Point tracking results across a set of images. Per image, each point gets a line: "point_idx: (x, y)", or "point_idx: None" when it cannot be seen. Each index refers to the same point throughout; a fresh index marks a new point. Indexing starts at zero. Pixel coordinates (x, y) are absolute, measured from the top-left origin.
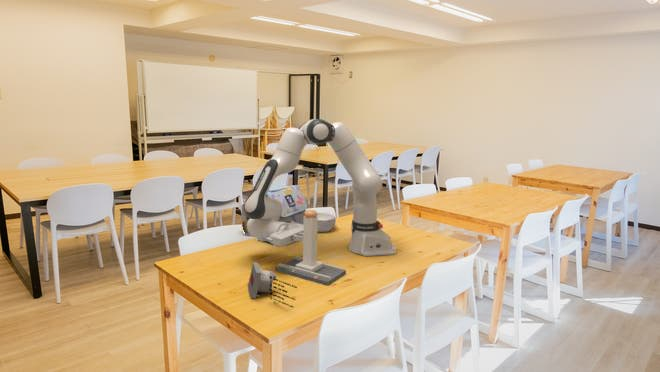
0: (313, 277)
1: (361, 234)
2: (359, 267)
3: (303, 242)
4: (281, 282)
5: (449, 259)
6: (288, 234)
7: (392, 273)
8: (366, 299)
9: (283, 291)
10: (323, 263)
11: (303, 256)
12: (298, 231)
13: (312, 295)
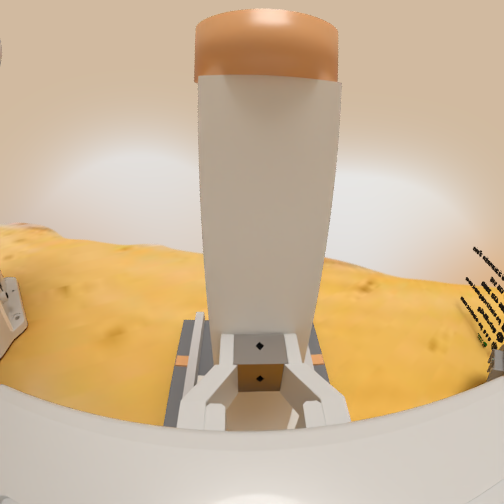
0: (323, 363)
1: None
2: (115, 317)
3: (303, 356)
4: (499, 275)
5: (46, 227)
6: (426, 429)
7: (133, 259)
8: None
9: (487, 290)
10: (199, 378)
11: (288, 416)
12: (211, 435)
13: (387, 324)
